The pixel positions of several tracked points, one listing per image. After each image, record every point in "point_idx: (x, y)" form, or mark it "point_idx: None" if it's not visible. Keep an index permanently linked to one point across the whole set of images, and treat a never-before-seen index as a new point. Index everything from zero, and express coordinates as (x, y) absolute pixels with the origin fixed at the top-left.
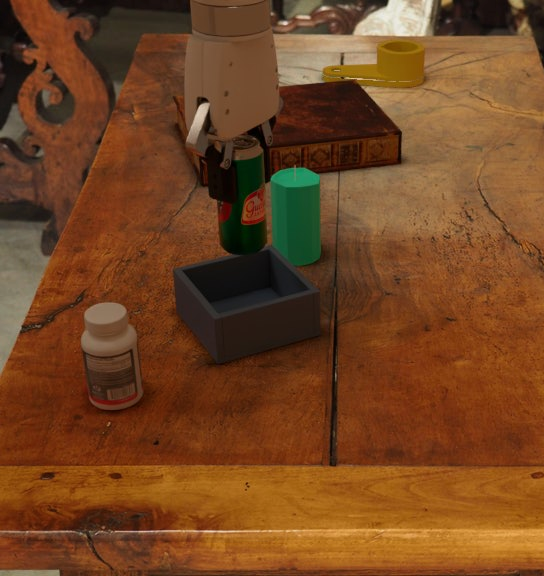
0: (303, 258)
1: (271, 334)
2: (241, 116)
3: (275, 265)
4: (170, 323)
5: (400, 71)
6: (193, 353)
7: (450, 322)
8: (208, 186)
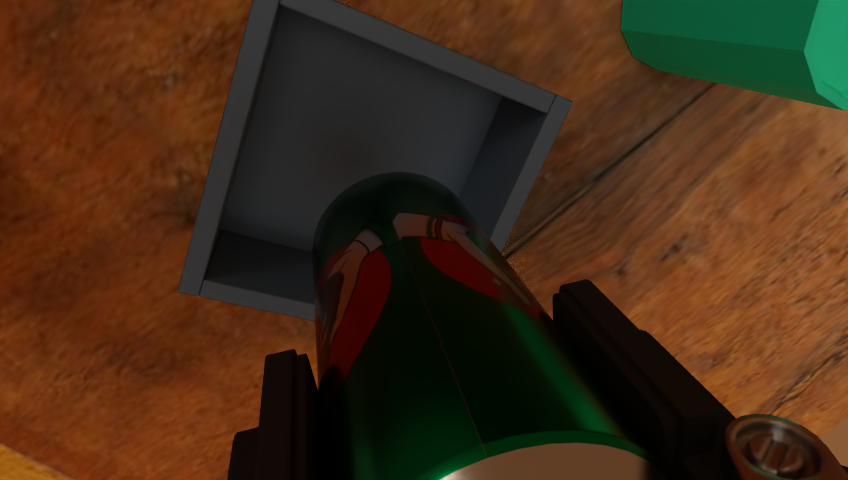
0: (650, 62)
1: None
2: None
3: (517, 144)
4: (222, 8)
5: None
6: (185, 162)
7: None
8: (263, 391)
